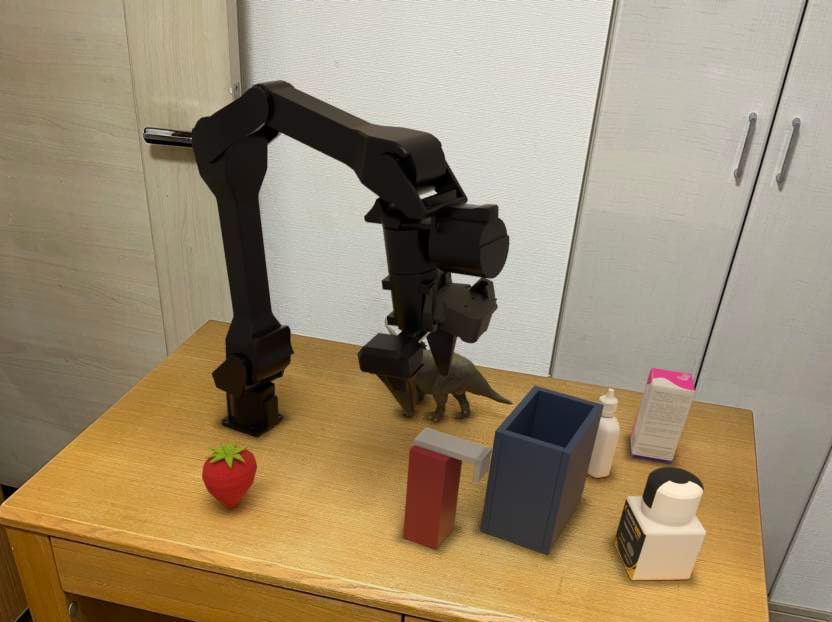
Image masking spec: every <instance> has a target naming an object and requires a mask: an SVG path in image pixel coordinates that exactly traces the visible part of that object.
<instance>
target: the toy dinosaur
mask: <svg viewBox="0 0 832 622" xmlns="http://www.w3.org/2000/svg"><path fill="white" fill-rule="evenodd" d="M384 326H385V328H386V329H387V331H388V334H392V335H398V334H397V333H396V331H395V330H394V329H395V328H392V327H391V326H390V325H387V318H386V317H385V318H384ZM426 343H427V342H426V341H424V340H422V341H421V342H420V344H421V345H422V346H423V359H422V363H423V364H425V366H424V367H423V368H422V369H421V370H420V371H419V372H418V373H417V374H416V375H415V408H416V407H417V404H418V403H419V402H422V401H423V400H425V398H424V397H425V396H432V398H433V401H434V402H435V404H436V408H435V410H434V411H430V412H429V413H428V417H427V419H428V420H433V422H438V421H440V420H441V419H443V418H444V414H445V413H446V404H447V403H448V400H449V395H452V396H453V398H454V399H455V400H456V401H457V402H458V404H459V408H460V411H458V413H457V414H456V415H455V418H457V419H462V418H466V417H469V416H470V415H471V413H472V412H471V404H470V401H469V400H468V398H467V395H466V393H469V394H473V395H475V396H481V397H485V398H487V399H490V400H493V401H495V402H496V403H501V404H504V405H508V406H509V405H510V406H511V405H514V402H513V401H512V400H511V399H508V398H506V397H504V396H503V395H501V394H500V393H498V391H496V390H495V389H493V388H492V387H491V384H489V381H488V380H487V379H486V377H485V376H483V374H482V373H481V372H480V371H479V369H477V367H476V365H475V364H474V363H473V362H472V361H471V360H470V359H469V358H467V357H466V356H463V355H461V354H460V353H458V352H455V351H454V354H453V358H452V363H451V368H450V372H449V375H448V376H441V375H440V374H439V371H438V369H437V367H436V364H435V362H434V359H433V356H432V353H431V350H430V348H429V349H428V348H427V347H428V345H427V344H426ZM399 412H400V415H401V416H405V417H407V418H409V417H410V418H412V417H413V416H414V415H415V412H416V411H415V412H414V413H413V414H410V413H406V412H405V411H404V410H403V408H400V409H399Z"/></svg>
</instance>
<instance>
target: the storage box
mask: <svg viewBox="0 0 832 622" xmlns="http://www.w3.org/2000/svg"><path fill="white" fill-rule="evenodd" d="M603 407H604V405H603V404H599V403H598V402H595V401H591V400H589V399H584V398H580V397H577V396H574V395H570V394H567V393H564V392H561V391H556V390H553V389H548V388H545V387H542V386H538V385H536V384H535V385H533V386H532V387H531V388H530V390H529V391H528V392H527V393H526V394H525V396H523V398H522V399H521V400H520V401H519V402H518V404H517V405H516V406H515V407H514V409H512V411H511V412H510V413H509V414H508V415H507V416H506V418H505V419H504V420H503V421H502V422H501V424H500V425H498V427H497V428H496V429H495V431H494V437H493V444H492V450H491V456H490V463H489V469H488V477H487V483H486V490H485V496H484V503H483V508H482V509H483V510H482V516H481V523H480V530H479V531H480V532H481V533H484V534H486V535H490V536H493V537H495V538H498V539H500V540H504V541H507V542H510V543H513V544H516V545H518V546H521V547H524V548H526V549H530V550H532V551H535V552H538V553H540V554H544V555H546V556H548V555H549V554H550V553H551V551H552V550H553V548H554V546H555V545H556V543H557V541H558V539H559V538H560V537H561V535H562V533H563V531H564V530H565V528H566V527H567V525H568V523H569V522H570V519H571V518H572V516H573V515H574V513H575V512H576V510H577V509H578V506H579V505H580V503H581V501H582V497H583V493H584V490H585V489H584V488H585V484H586V480H587V476H588V474H587V473H588V469H589V464H590V460H591V456H592V452H593V448H594V444H595V440H596V436H597V431H598V427H599V423H600V419H601V415H602V411H603Z"/></svg>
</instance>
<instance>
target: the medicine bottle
mask: <svg viewBox="0 0 832 622" xmlns="http://www.w3.org/2000/svg"><path fill="white" fill-rule="evenodd" d="M704 490H705V487H704V484H703V482H702V480H701V479H700V477H698V476H696V475H695V474H694V473H692V472H691V471H688V470H686V469H684V468H679V467H676V466H662V467H658V468H655V469H654V470H652V471H650V473H649V474H648V476H647V480H646V483H645V486H644V489H643V494H642V495H628V496H626V498H625V502H624V505H623V508H622V512H621V516H620V519H619V522H618V525H617V530H616V533H615V535H614V536H615V537H614V539H613V544H614V546H615V549H616V550H617V554H618V555H619V557H620V559H621V562H622V564H623V566H624V568H625V570H626V573H627V575H628V576H629V579H630V580H631V581H668V580H669V581H673V580H675V581H676V580H678V581H679V580H689V579H690V577H691V575H692V573H693V570H694V567H695V565H696V562H697V559H698V557H699V554H700V551H701V549H702V546H703V543H704V541H705V538H706V535H707V531H706V529H705V528H704V526H703V524H702V523H701V521H700V520H699V517H698V516H697V515H696V513H697V511H698V508H699V504H700V502H701V500H702V497H703V494H704Z"/></svg>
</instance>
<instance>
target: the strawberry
mask: <svg viewBox="0 0 832 622" xmlns="http://www.w3.org/2000/svg"><path fill="white" fill-rule="evenodd" d="M231 441H232V439H230V440H229V441H228V442H227V443H226V444H223V443H221V442H219V446H220V447H208V448H207V449H208V450H209V451H212V452H213V453H212V454H210V455H207V456H205V457H204V459H206V460H205V461H204V463H203V465H202V470H201V471H202V473H201V479H202V482H203V484H204V486H205V488H206V491H207V492H208V493H209V494H210V495H211V496H212V497H213V498H214V499H215V500H216V501H217V502H219V503H221V504H223V505H224V506H225V507H226V508H229V509H232V508H235V507H236V506H237V505H238V504H239V502H240V501H241V500H242V499H243V498H244V497H245V495H246V494H247V493H248V491H249V490H250V488H251V487H252V486H253V484H254V481H255V477H256V474H257V470H258V463H257V460H256V457H255V455H254V453H253V452H251V451H250V450H249V449H248V448H249V447H248V446H238V445H237V440H235V441H234V442H232V443H230V442H231ZM229 443H230V444H229ZM236 445H237V446H236Z"/></svg>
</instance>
